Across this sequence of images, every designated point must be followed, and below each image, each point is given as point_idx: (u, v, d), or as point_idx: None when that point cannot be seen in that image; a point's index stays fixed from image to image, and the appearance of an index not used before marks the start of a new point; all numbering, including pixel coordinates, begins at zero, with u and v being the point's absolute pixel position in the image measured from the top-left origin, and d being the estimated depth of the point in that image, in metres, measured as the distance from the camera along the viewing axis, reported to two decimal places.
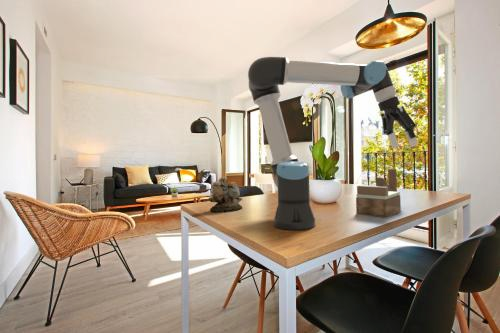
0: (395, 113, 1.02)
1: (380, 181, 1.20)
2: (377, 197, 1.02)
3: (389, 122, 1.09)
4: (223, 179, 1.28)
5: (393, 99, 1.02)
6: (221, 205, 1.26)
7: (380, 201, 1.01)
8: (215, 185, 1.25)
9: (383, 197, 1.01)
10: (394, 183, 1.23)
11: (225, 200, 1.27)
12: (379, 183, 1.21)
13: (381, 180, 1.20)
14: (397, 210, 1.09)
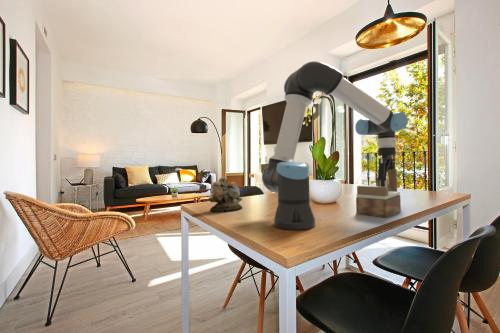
0: None
1: None
2: (377, 197, 1.02)
3: None
4: (223, 179, 1.28)
5: (384, 149, 1.20)
6: (221, 205, 1.26)
7: (380, 201, 1.01)
8: (215, 185, 1.25)
9: (383, 197, 1.01)
10: (394, 183, 1.23)
11: (225, 200, 1.27)
12: (379, 183, 1.21)
13: None
14: (397, 210, 1.09)
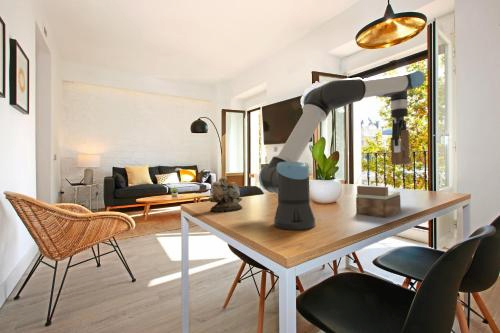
0: None
1: None
2: (377, 197, 1.02)
3: None
4: (223, 179, 1.28)
5: (397, 110, 1.30)
6: (221, 205, 1.26)
7: (380, 201, 1.01)
8: (215, 185, 1.25)
9: (383, 197, 1.01)
10: (407, 143, 1.33)
11: (225, 200, 1.27)
12: (393, 142, 1.31)
13: None
14: (397, 210, 1.09)
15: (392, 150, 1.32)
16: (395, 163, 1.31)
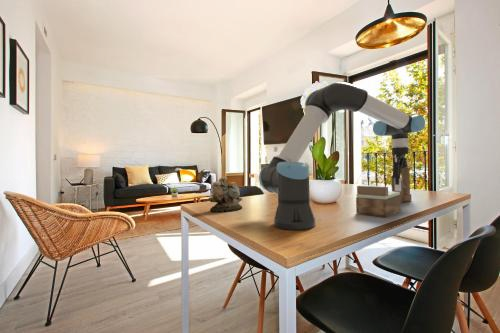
0: None
1: None
2: (377, 197, 1.02)
3: None
4: (223, 179, 1.28)
5: (398, 148, 1.30)
6: (221, 205, 1.26)
7: (380, 201, 1.01)
8: (215, 185, 1.25)
9: (383, 197, 1.01)
10: (407, 180, 1.33)
11: (225, 200, 1.27)
12: (394, 180, 1.32)
13: None
14: (397, 210, 1.09)
15: (393, 188, 1.32)
16: None
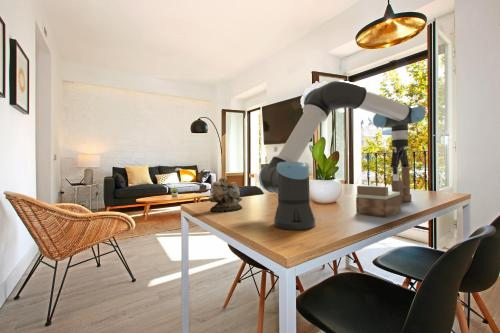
0: None
1: None
2: (377, 197, 1.02)
3: (400, 157, 1.35)
4: (223, 179, 1.28)
5: (397, 140, 1.30)
6: (221, 205, 1.26)
7: (380, 201, 1.01)
8: (215, 185, 1.25)
9: (383, 197, 1.01)
10: (407, 180, 1.33)
11: (225, 200, 1.27)
12: None
13: None
14: (397, 210, 1.09)
15: (393, 188, 1.33)
16: None
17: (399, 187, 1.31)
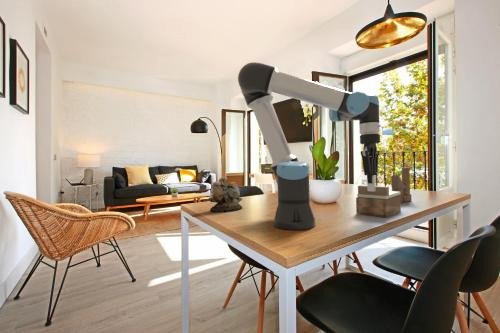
0: None
1: (395, 178, 1.31)
2: (378, 197, 1.03)
3: None
4: (223, 179, 1.28)
5: (366, 135, 1.02)
6: (221, 205, 1.26)
7: (380, 201, 1.01)
8: (215, 185, 1.25)
9: (384, 197, 1.01)
10: (407, 180, 1.33)
11: (225, 200, 1.27)
12: (394, 180, 1.32)
13: (396, 177, 1.31)
14: (397, 210, 1.09)
15: (393, 188, 1.33)
16: None
17: (399, 187, 1.31)
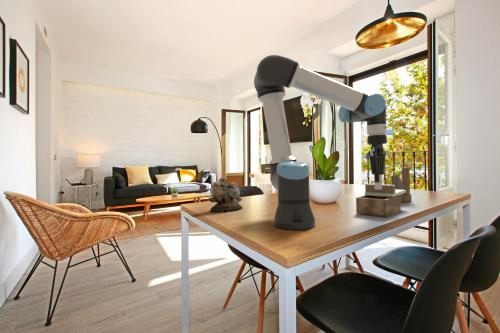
0: None
1: (395, 178, 1.31)
2: (385, 195, 1.08)
3: None
4: (223, 179, 1.28)
5: (373, 136, 1.07)
6: (221, 205, 1.26)
7: (380, 201, 1.01)
8: (215, 185, 1.25)
9: (390, 195, 1.06)
10: (407, 180, 1.34)
11: (225, 200, 1.27)
12: (394, 180, 1.32)
13: (396, 177, 1.31)
14: (397, 210, 1.09)
15: None
16: None
17: (399, 187, 1.31)
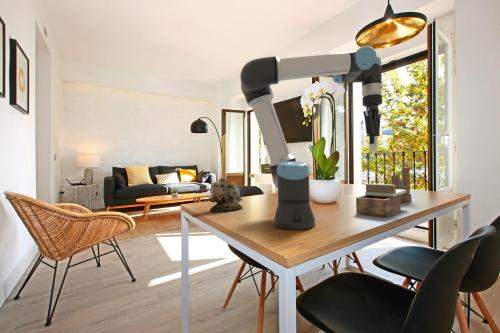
0: None
1: (395, 178, 1.31)
2: (385, 194, 1.08)
3: None
4: (223, 179, 1.28)
5: (368, 96, 1.04)
6: (221, 205, 1.26)
7: (380, 201, 1.01)
8: (215, 185, 1.25)
9: (391, 194, 1.07)
10: (407, 180, 1.33)
11: (225, 200, 1.27)
12: (394, 180, 1.32)
13: (396, 177, 1.31)
14: (397, 210, 1.09)
15: None
16: None
17: (399, 187, 1.31)
